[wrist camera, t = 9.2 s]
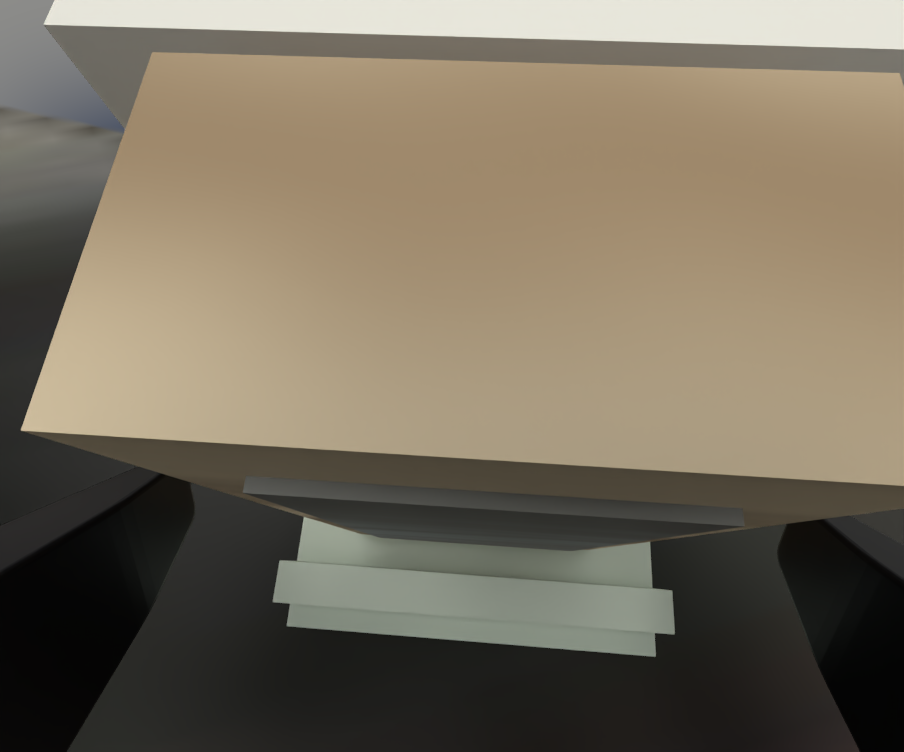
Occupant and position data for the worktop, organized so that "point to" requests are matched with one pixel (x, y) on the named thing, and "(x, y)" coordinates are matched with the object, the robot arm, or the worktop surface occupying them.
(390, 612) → the picture ledge
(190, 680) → the worktop surface
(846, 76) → the oak photo frame
